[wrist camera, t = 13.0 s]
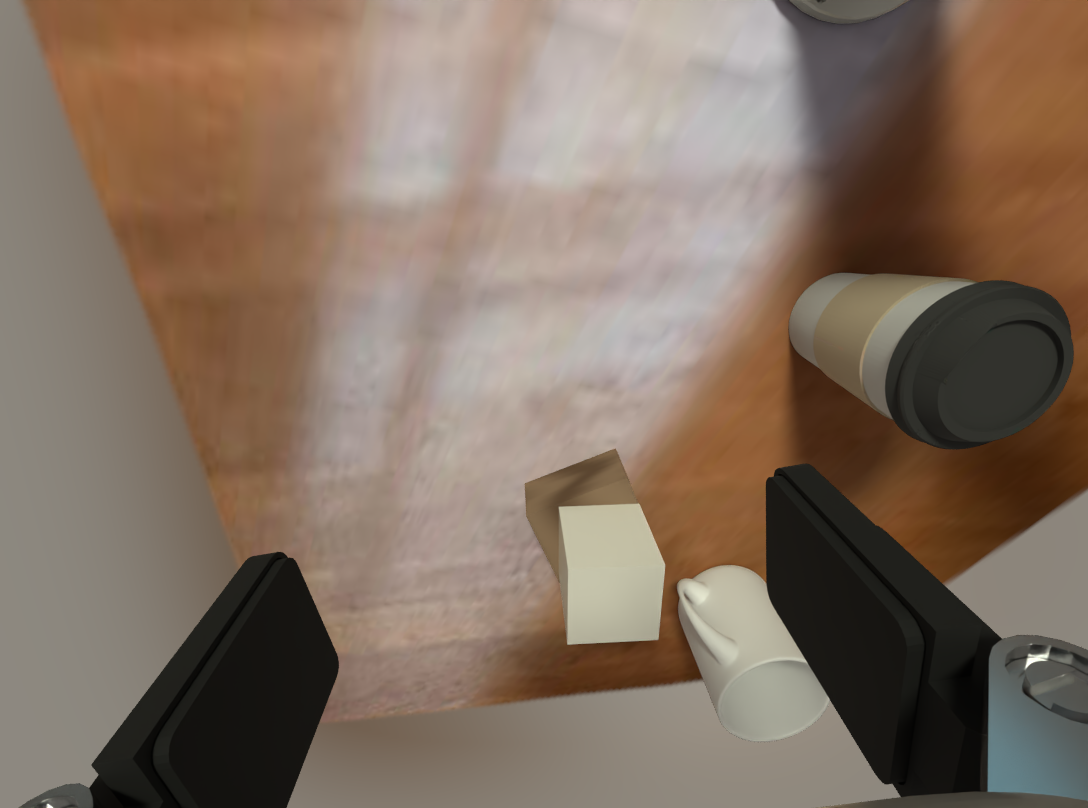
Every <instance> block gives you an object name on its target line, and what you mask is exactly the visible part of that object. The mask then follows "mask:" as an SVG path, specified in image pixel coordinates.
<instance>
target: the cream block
mask: <svg viewBox="0 0 1088 808" xmlns="http://www.w3.org/2000/svg"><path fill="white" fill-rule="evenodd" d="M664 573H665V564H664V561H663V559H662V556H661V554H660V552H659V549H658V547H657V545H656V542H655V540H654V537H653V535H652V533H651V530H650V528H649V525H648V523H647V521H646V518H645V516H644V514H643V511H642V509H641V506H640V504H618V505H591V506H565V507H559V580H560V588H561V596H562V604H563V613H564V621H565V629H566V637H567V645H568V644H588V643H607V642H627V641H647V640H658V638H659V627H660V616H661V605H662V594H663V584H664Z"/></svg>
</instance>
